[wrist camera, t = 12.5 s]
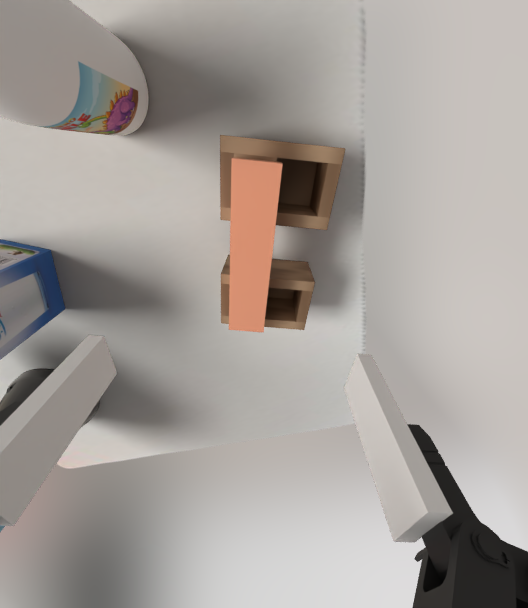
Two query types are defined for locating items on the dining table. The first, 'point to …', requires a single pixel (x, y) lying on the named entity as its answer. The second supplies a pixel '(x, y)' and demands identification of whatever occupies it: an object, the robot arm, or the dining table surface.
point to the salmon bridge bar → (251, 239)
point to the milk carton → (26, 292)
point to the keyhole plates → (285, 217)
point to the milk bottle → (67, 70)
